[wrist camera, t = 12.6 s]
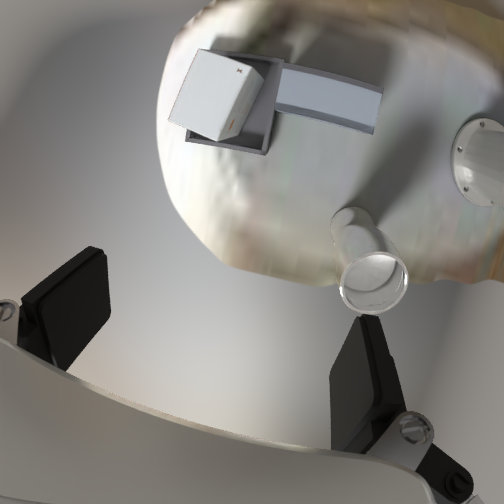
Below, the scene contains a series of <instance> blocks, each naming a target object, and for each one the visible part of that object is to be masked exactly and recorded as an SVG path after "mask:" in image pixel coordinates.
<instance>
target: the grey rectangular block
mask: <svg viewBox="0 0 504 504" xmlns="http://www.w3.org/2000/svg"><path fill="white" fill-rule="evenodd" d="M383 90H384V88H381V87H378V86H375V85H372V84H369V83H366V82H363V81H359V80H356V79H352V78H349V77H345V76H342V75H338V74H334V73H330V72H326V71H322V70H318V69H314V68H309V67H305V66H300V65H295V64H290V63H283V69H282V74H281V79H280V84H279V89H278V94H277V99H276V104H275V109H274V110H276V111H278V112H281V113H286V114H290V115H295V116H299V117H304V118H308V119H312V120H316V121H321V122H324V123H328V124H332V125H336V126H340V127H343V128H347V129H350V130H354V131H357V132H362V133H367V134H372V135H373V133H374V128H375V124H376V119H377V115H378V110H379V106H380V101H381V96H382V94H383Z"/></svg>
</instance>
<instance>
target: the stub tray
mask: <svg viewBox="0 0 504 504" xmlns="http://www.w3.org/2000/svg"><path fill="white" fill-rule="evenodd" d="M203 50H204V49H203ZM206 51H209V52H212V53H215V54H218V55H221V56H224V57H227V58H230V59H233V60H236V61H239V62H241V63H244V64H246V65H249V66H252V67H253V68H254V69H255V70H256V71H257V72H258V73H259V74H260V75H261V76H262V77H263V78H264V80H265V81H264V83H263V85H262V87H261V89H260V91H259V93H258V95H257V97H256V99H255V101H254V103H253V105H252V107H251V110H250V112H249V114H248V116H247V118H246V120H245V122H244V124H243V127H242V129H241V131H240V133H239V135H237V136H234V137H230V138H227V139H224V140H220V141H214V140H212V139H210V138H207V137H205V136H203V135H200V134H198V133H196V132H194V131H191V130H189V129H187V132H186V139H185V142H192V143H198V144H205V145H211V146H217V147H223V148H228V149H234V150H239V151H245V152H250V153H255V154H260V155H266V154H267V152H268V147H269V142H270V137H271V132H272V127H273V122H274V117H275V112H276V110H274V109H275V104H276V99H277V94H278V89H279V84H280V79H281V74H282V69H283V63H285V60H284V59H280V58H274V57H268V56H261V55H254V54H246V53H238V52H229V51H218V50H206Z"/></svg>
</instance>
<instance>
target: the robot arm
mask: <svg viewBox="0 0 504 504" xmlns="http://www.w3.org/2000/svg"><path fill="white" fill-rule="evenodd" d="M451 168H452V174H453V177H454V180H455V183H456V185H457V187H458V189H459V191H460V192H461V193H462V195H463V196H464V197H465V198H467V199H468V200H469V201H471V202H472V203H474V204H476V205H478V206H483V207H491V206H494V205H499V206H501V207H503V208H504V126H502V125H501V124H500V123H498V122H496V121H494V120H492V119H487V118H478V119H473V120H471V121H469V122H468V123H466V124H465V125H464V126H463V127H462V128H461V130H460V131H459V132H458V134H457V136H456V138H455V140H454V144H453V147H452V153H451ZM21 301H22V305H21V306H20V307H19V305H18V304H17V303H16V302H15V301H13V300H10V299H4V300H0V504H484V503H483V501H482V500H481V499H480V497H479V496H478V495H475V496H473V494H472V492H473V485H474V483H473V479H472V477H471V475H470V473H469V472H468V471H467V470H466V469H465V468H463V467H462V466H461V465H460V464H458V463H457V462H456V461H455V460H453V459H452V458H451V457H449V456H448V455H447V454H446V453H444V452H443V451H442V450H441V449H439V448H438V447H437V446H436V445H434V444H433V443H432V442H433V439H434V429H433V426H432V424H431V422H430V421H429V420H428V419H427V418H426V417H425V416H424V415H422V414H420V413H418V412H414V411H407V410H406V406H405V402H404V397H403V393H402V390H401V385H400V382H399V378H398V374H397V370H396V367H395V363H394V359H393V357H392V356H391V355H390V353H389V349H388V346H387V342H386V339H385V336H384V332H383V329H382V325H381V322H380V319H379V317H378V316H373V315H369V314H362V316H361V317H358V316H357V317H356V319H355V320H354V323H353V325H352V327H351V329H350V331H349V333H348V336H347V338H346V340H345V342H344V344H343V346H342V348H341V350H340V352H339V355H338V356H337V359H336V360H335V363H334V364H333V366H332V368H331V371H330V376H329V381H330V406H331V450H326V449H318V448H310V447H304V446H298V445H292V444H286V443H280V442H275V441H269V440H263V439H259V438H254V437H249V436H245V435H240V434H236V433H232V432H228V431H224V430H220V429H216V428H212V427H208V426H205V425H201V424H198V423H194V422H191V421H187V420H184V419H181V418H178V417H175V416H172V415H169V414H166V413H163V412H160V411H157V410H154V409H151V408H148V407H146V406H143V405H140V404H138V403H135V402H132V401H130V400H127V399H125V398H122V397H120V396H117V395H115V394H113V393H110V392H108V391H106V390H103V389H101V388H99V387H96V386H94V385H92V384H90V383H88V382H85V381H83V380H81V379H79V378H77V377H75V376H73V375H71V374H69V373H67V372H66V371H67V369H68V368H69V367H70V365H71V364H72V363H73V362H74V360H75V359H76V358H77V357H78V355H79V354H80V353H81V352H82V351H83V349H84V348H85V347H86V346H87V344H88V343H89V342H90V341H91V339H92V338H93V337H94V336H95V335H96V333H97V332H98V331H99V330H100V329H101V327H102V326H103V325H104V324H105V323H106V322H107V320H108V319H109V317H110V314H111V306H110V295H109V282H108V266H107V256H106V255H105V254H104V251H103V250H102V249H99V248H95V247H92V246H88V247H87V248H85V249H84V250H83V251H81V252H80V253H78V254H77V255H76V256H74V257H73V258H72V259H70V260H69V261H68V262H66V263H65V264H64V265H62V266H61V267H60V268H58V269H57V270H56V271H54V272H53V273H52V274H50V275H49V276H48V277H47V278H45V279H44V280H43V281H42V282H40V283H39V284H38V285H37V286H35V287H34V288H33V289H32V290H30V291H29V292H28V293H27V294H25V295H24V296H23V297H22V298H21Z"/></svg>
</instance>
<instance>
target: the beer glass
mask: <svg viewBox="0 0 504 504" xmlns="http://www.w3.org/2000/svg"><path fill="white" fill-rule="evenodd" d="M330 235H331V237H332V240H333V241H334V243H335V247H334V254H333V265H334V272H335V276H336V280H337V283H338V286H339V288H340V292H341V296H342V299H343V300H344V302H345V303H346V305H347V306H348V307H350V308H351V309H352V310H354V311H356V312H359V313H362V314H378V313H382V312H384V311H387V310H389V309H390V308H392V307H393V306H395V305H396V304H397V303H398V302H399V301H400V300H401V298H402V297H403V296H404V294H405V292H406V289H407V286H408V280H409V278H408V271H407V268H406V266H405V264H404V262H403V260H402V258H401V256H400V253H399V251H398V250H397V248H396V246H395V245H394V243H393V242H392V241H391V239H390V238H389V237H388V236H387V235H386V234H385V233H384V232H382V231H381V230H380V229H378V228H377V227H375V226H374V222H373V219H372V217H371V216H370V214H369V213H368V212H367V211H365V210H364V209H362V208H359V207H346V208H344V209H342V210H340V211H339V212H337V213H336V214H335V216H334V217H333V219H332V221H331V224H330Z"/></svg>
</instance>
